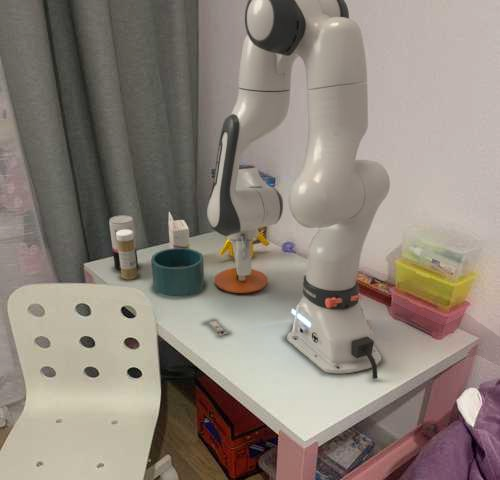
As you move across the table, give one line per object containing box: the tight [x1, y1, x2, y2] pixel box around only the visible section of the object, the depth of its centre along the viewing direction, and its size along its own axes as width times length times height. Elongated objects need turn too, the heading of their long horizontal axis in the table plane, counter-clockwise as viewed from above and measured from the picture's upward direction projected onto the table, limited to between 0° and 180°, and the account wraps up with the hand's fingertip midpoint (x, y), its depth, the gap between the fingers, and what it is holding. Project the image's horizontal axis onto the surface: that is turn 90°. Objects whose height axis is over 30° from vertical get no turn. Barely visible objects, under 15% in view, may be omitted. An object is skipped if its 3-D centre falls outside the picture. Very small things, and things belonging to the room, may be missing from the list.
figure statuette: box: [218, 230, 271, 259], centre depth 146 cm, size 18×8×22 cm, turn 121°
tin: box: [150, 248, 205, 298], centre depth 131 cm, size 14×14×8 cm
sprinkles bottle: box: [116, 230, 138, 281], centre depth 135 cm, size 5×5×14 cm
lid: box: [214, 267, 269, 294], centre depth 133 cm, size 15×15×5 cm
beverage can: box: [108, 214, 139, 273], centre depth 139 cm, size 6×7×15 cm
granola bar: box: [209, 320, 229, 337], centre depth 115 cm, size 7×2×1 cm, turn 34°
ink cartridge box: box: [168, 211, 191, 249], centre depth 144 cm, size 9×5×15 cm, turn 17°
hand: (241, 276), depth 134 cm, fingers closed on lid, 2 cm apart
